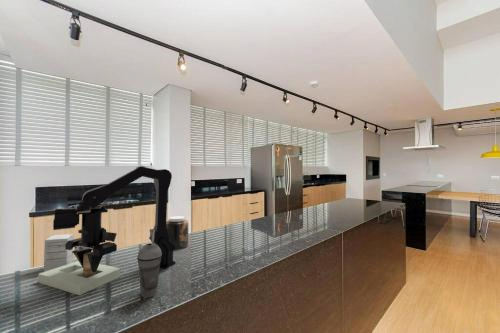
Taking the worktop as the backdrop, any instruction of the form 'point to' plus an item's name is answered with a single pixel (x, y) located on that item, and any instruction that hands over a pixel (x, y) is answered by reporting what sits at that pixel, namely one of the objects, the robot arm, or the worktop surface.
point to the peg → (87, 267)
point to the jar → (178, 231)
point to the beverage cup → (149, 268)
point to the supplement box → (57, 252)
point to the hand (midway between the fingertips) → (90, 270)
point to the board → (77, 277)
